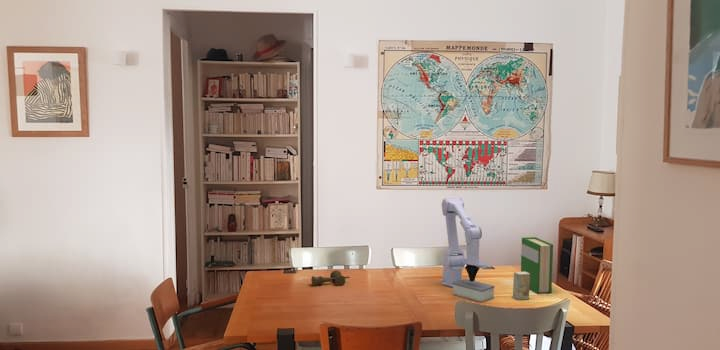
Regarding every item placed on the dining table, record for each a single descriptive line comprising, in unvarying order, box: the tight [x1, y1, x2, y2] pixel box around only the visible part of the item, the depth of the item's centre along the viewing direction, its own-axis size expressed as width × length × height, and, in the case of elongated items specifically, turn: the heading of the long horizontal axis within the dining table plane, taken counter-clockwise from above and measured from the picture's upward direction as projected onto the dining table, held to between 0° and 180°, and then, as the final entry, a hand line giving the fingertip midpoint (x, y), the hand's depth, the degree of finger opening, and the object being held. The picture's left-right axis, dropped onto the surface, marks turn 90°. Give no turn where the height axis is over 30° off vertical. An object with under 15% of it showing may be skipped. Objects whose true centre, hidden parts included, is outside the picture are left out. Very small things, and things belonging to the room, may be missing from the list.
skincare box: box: [512, 271, 530, 301], centre depth 252 cm, size 6×4×12 cm
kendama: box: [311, 270, 350, 287], centre depth 274 cm, size 6×10×20 cm
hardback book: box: [520, 236, 554, 295], centre depth 267 cm, size 18×7×24 cm, turn 9°
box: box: [452, 285, 495, 303], centre depth 255 cm, size 16×10×5 cm, turn 43°
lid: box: [452, 278, 495, 292], centre depth 255 cm, size 17×10×1 cm, turn 43°
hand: (472, 281), depth 254 cm, fingers closed
